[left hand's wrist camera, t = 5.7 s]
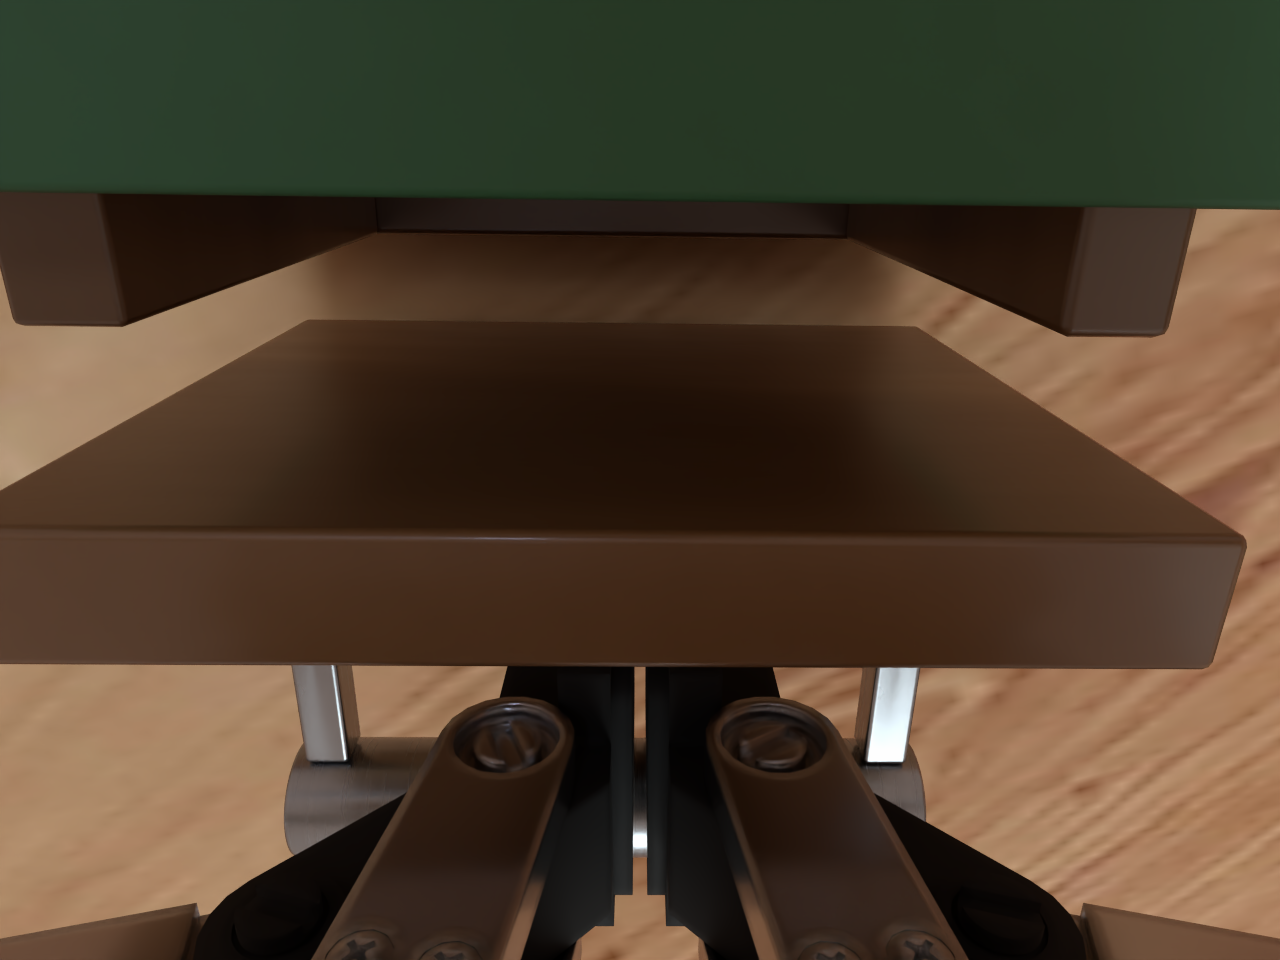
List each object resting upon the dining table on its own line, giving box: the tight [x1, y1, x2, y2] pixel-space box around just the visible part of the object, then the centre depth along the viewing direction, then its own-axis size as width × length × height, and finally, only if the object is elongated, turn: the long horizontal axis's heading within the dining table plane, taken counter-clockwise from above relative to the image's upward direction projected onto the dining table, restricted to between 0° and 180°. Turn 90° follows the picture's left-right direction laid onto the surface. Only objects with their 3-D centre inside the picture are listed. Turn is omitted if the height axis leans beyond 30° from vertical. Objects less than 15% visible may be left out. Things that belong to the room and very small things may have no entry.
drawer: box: [0, 192, 1247, 857], centre depth 9 cm, size 20×10×8 cm, turn 179°
